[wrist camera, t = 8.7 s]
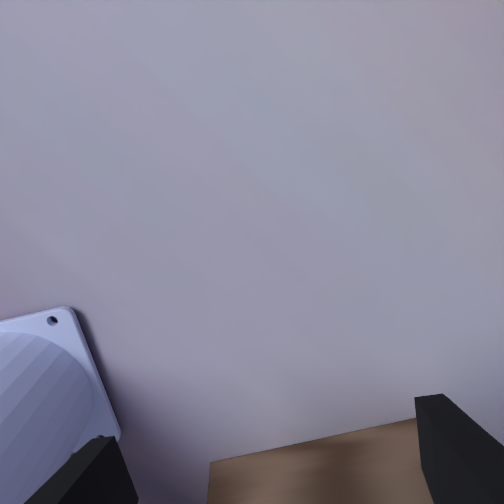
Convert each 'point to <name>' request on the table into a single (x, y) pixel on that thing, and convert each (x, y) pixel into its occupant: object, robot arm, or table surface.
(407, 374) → the table surface
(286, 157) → the table surface
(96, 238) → the table surface
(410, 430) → the brown flat block
